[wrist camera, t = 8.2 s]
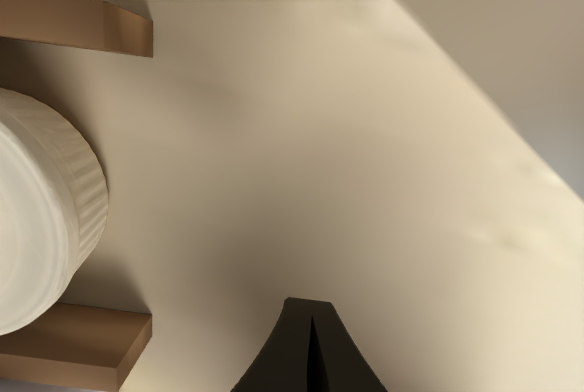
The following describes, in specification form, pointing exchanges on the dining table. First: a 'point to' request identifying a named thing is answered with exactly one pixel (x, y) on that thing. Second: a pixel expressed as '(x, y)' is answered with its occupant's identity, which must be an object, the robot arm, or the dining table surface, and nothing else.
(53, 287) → the ramekin
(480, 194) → the dining table surface
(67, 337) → the shallow wooden tray
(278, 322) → the robot arm
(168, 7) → the dining table surface
